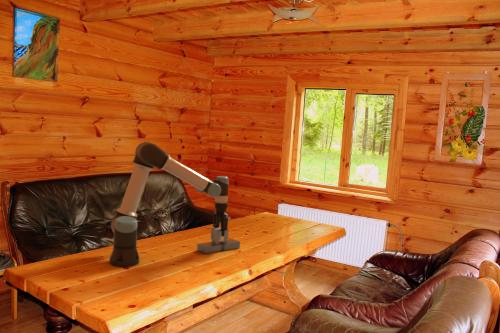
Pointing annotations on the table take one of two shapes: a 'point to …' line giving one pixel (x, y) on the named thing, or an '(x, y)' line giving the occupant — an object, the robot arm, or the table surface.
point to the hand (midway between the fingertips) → (219, 240)
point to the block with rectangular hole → (218, 246)
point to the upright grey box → (218, 235)
